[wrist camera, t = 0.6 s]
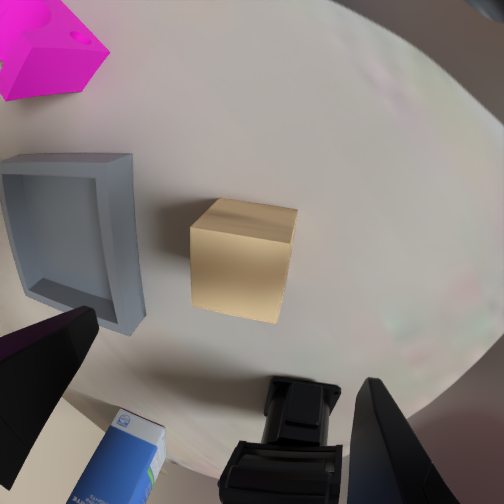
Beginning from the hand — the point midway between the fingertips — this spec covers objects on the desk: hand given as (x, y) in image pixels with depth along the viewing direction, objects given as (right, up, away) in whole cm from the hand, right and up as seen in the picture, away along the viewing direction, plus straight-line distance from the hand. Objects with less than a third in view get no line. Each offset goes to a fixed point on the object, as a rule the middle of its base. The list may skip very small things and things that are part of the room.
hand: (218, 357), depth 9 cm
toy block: (-16, +21, +7) cm, 27 cm away
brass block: (+1, +4, +12) cm, 12 cm away
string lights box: (-15, -25, +31) cm, 43 cm away
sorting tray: (-15, +5, +15) cm, 21 cm away
